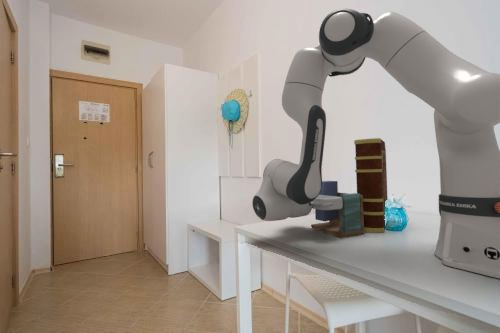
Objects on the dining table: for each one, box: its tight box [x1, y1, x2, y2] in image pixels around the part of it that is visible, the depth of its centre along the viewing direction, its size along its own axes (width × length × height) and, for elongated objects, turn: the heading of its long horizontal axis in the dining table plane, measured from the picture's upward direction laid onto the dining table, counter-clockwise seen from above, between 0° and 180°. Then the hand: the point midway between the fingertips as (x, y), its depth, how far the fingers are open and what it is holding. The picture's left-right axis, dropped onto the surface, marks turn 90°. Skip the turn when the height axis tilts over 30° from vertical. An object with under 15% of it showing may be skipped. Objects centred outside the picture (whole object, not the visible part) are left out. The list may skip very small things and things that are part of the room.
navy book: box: [314, 180, 339, 222], centre depth 90 cm, size 4×7×13 cm, turn 123°
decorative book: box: [353, 137, 388, 234], centre depth 92 cm, size 22×8×30 cm, turn 148°
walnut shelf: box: [310, 191, 365, 239], centre depth 87 cm, size 15×9×13 cm, turn 23°
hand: (328, 198), depth 90 cm, fingers closed on navy book, 4 cm apart
